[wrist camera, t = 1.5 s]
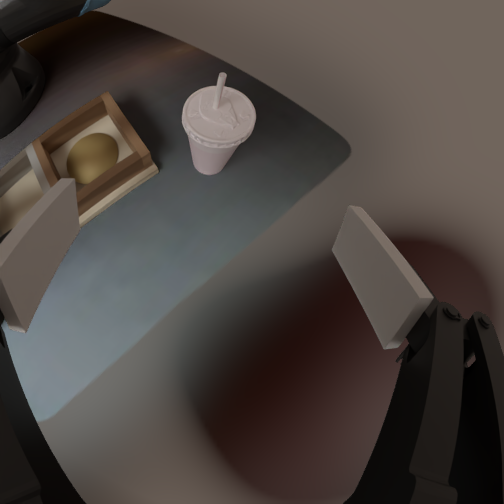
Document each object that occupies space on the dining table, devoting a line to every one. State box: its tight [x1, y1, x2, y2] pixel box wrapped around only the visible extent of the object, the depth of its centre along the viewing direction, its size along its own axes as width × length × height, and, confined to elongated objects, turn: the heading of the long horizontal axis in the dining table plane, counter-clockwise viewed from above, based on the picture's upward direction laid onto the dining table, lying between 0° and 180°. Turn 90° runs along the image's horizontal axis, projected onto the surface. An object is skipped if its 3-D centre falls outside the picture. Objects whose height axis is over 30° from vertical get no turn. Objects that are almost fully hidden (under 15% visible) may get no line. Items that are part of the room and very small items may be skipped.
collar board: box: [0, 91, 159, 237], centre depth 26 cm, size 12×21×4 cm, turn 128°
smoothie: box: [182, 73, 256, 175], centre depth 25 cm, size 6×6×14 cm
